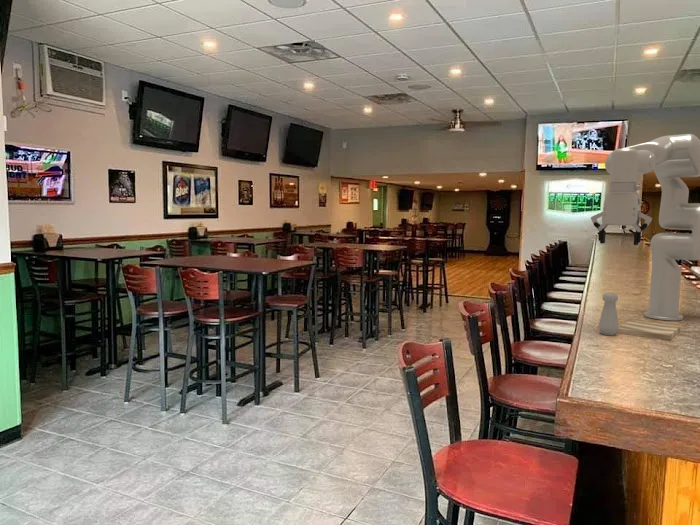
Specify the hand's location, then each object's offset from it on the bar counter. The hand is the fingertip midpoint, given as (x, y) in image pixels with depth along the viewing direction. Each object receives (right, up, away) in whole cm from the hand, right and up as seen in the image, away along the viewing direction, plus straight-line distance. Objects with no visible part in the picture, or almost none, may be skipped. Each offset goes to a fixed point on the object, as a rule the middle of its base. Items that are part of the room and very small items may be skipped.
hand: (618, 244), depth 165 cm
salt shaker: (-2, -29, +3) cm, 29 cm away
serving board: (+13, -28, +7) cm, 32 cm away
